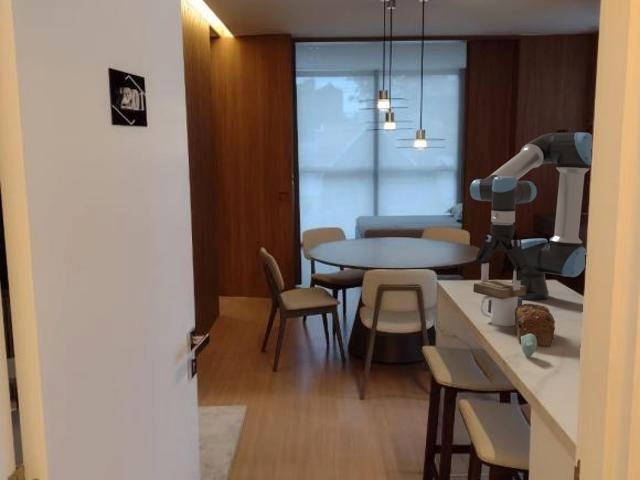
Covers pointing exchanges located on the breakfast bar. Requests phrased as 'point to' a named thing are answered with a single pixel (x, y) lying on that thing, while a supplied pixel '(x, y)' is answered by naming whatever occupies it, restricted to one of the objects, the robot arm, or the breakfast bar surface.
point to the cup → (501, 310)
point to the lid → (498, 289)
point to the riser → (519, 303)
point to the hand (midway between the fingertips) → (500, 285)
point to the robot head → (528, 344)
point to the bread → (535, 323)
